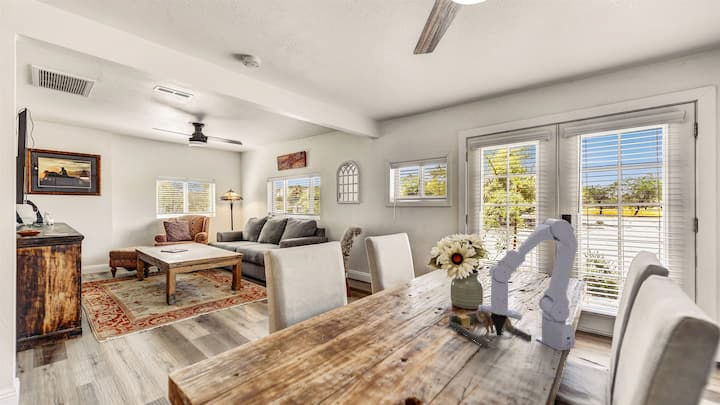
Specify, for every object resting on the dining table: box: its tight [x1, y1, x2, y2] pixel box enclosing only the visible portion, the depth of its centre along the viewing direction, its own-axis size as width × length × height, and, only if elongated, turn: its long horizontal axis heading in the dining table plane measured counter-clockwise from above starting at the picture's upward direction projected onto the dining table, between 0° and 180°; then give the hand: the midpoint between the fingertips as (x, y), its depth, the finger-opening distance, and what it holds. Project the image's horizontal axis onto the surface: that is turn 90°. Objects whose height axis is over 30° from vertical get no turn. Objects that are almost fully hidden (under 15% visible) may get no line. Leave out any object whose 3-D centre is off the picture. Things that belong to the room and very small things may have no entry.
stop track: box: [448, 311, 532, 349], centre depth 117 cm, size 21×20×4 cm
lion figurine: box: [475, 309, 515, 335], centre depth 116 cm, size 15×5×9 cm, turn 103°
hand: (499, 334), depth 111 cm, fingers closed
